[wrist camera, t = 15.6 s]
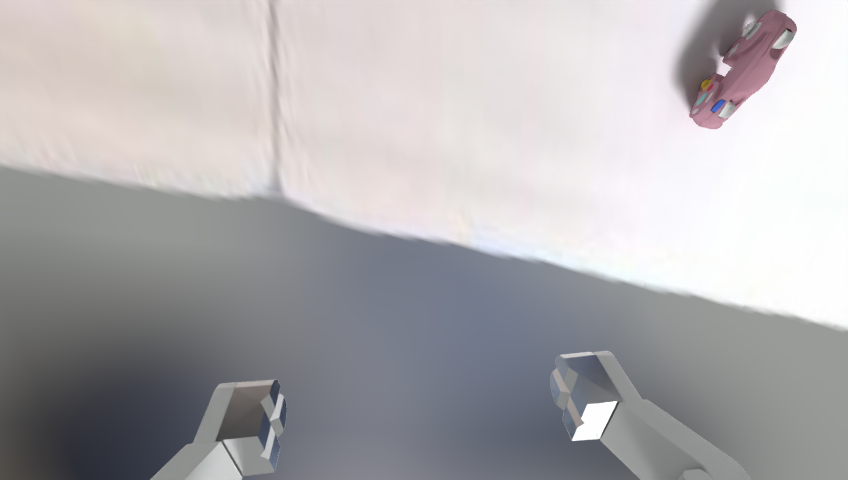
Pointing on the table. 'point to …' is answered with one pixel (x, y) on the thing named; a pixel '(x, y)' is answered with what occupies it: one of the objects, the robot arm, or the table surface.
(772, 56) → the video game controller
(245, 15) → the table surface
